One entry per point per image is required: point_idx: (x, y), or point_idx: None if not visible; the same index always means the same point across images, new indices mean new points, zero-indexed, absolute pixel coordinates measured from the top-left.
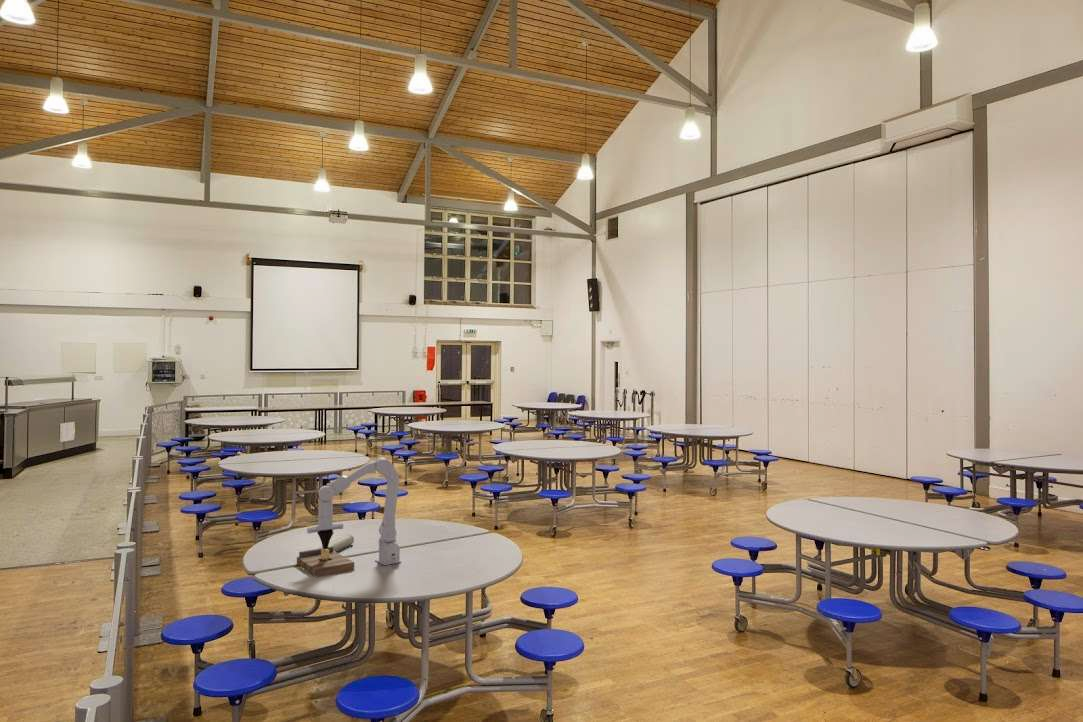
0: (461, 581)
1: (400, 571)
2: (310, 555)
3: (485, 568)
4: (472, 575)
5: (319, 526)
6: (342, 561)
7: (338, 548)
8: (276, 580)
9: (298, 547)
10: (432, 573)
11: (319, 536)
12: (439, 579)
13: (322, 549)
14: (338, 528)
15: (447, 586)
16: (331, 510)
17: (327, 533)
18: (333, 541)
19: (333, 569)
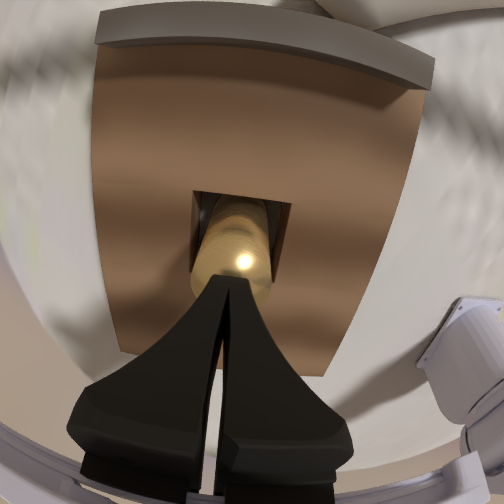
0: (375, 462)
1: (383, 413)
2: (199, 44)
3: (452, 433)
4: (410, 450)
5: None
6: (294, 340)
7: (483, 8)
8: (8, 255)
9: None
10: (397, 435)
11: (135, 368)
12: (368, 454)
13: (215, 256)
14: (412, 486)
15: (341, 469)
16: None
17: (214, 482)
18: None
19: None
